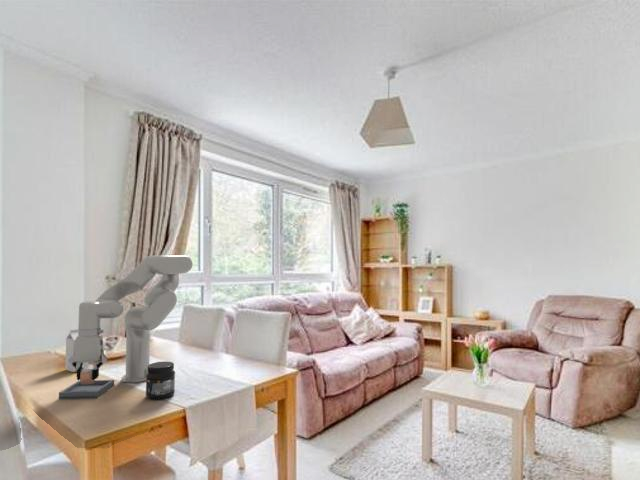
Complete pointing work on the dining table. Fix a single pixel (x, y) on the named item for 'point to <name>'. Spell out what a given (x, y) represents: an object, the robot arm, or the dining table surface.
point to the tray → (86, 390)
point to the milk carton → (69, 351)
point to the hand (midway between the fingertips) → (87, 378)
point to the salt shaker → (86, 376)
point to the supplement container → (160, 380)
